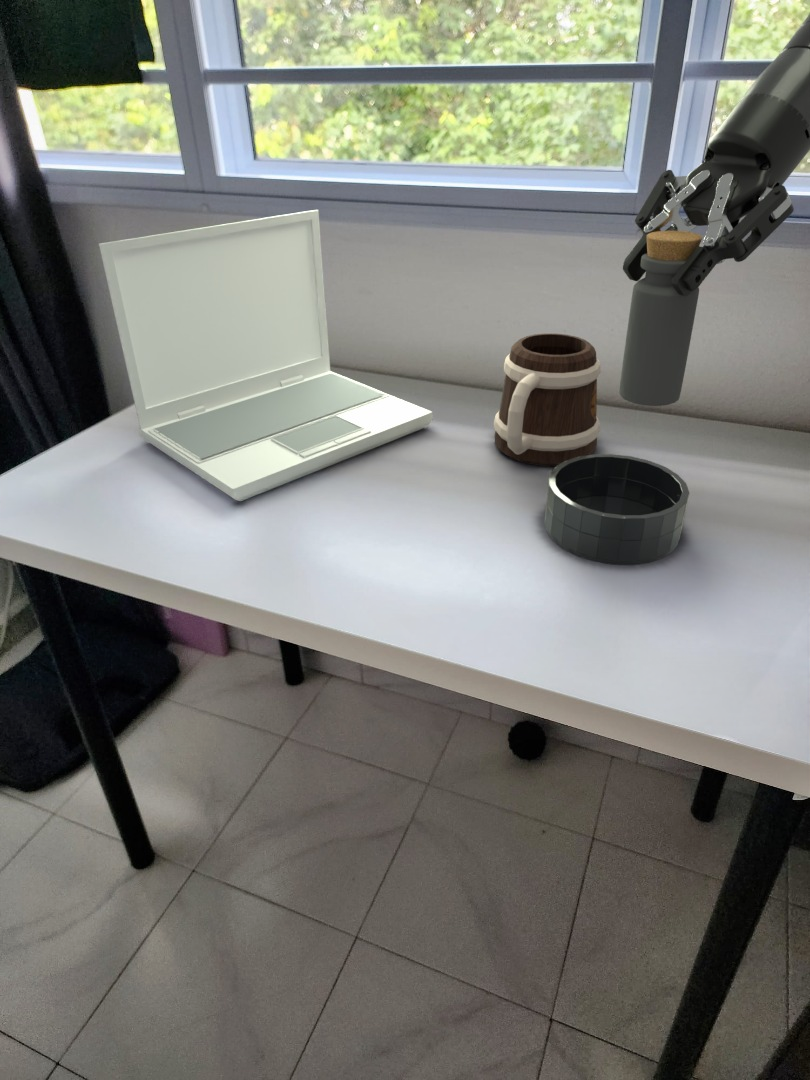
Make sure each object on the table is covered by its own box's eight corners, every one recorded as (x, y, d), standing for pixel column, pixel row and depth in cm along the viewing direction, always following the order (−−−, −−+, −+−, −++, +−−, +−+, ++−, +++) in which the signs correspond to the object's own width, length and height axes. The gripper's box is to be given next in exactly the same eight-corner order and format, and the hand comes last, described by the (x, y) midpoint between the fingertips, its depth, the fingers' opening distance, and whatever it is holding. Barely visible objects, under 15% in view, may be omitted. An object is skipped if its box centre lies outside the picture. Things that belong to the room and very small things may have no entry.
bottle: (606, 391, 76) (626, 233, 68) (652, 380, 78) (677, 226, 70) (645, 411, 71) (671, 244, 63) (692, 399, 73) (724, 237, 65)
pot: (701, 523, 90) (711, 479, 87) (640, 582, 80) (649, 534, 77) (586, 484, 99) (591, 442, 96) (519, 532, 89) (522, 488, 86)
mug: (518, 417, 118) (525, 321, 109) (611, 437, 111) (626, 337, 103) (458, 467, 103) (460, 362, 95) (561, 494, 97) (573, 383, 88)
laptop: (235, 507, 95) (198, 277, 80) (141, 443, 112) (96, 243, 96) (432, 427, 115) (433, 230, 99) (327, 383, 131) (314, 209, 116)
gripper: (696, 88, 69) (580, 241, 70) (839, 92, 58) (698, 272, 60) (725, 149, 74) (616, 290, 75) (861, 162, 63) (730, 327, 65)
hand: (653, 281), depth 68 cm, fingers closed on bottle, 5 cm apart
